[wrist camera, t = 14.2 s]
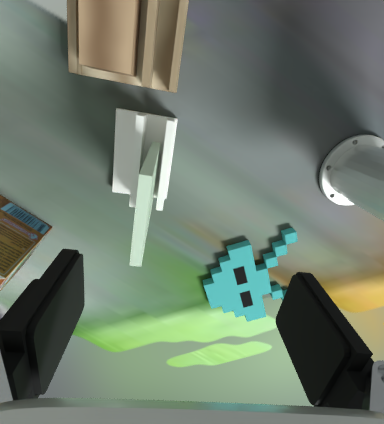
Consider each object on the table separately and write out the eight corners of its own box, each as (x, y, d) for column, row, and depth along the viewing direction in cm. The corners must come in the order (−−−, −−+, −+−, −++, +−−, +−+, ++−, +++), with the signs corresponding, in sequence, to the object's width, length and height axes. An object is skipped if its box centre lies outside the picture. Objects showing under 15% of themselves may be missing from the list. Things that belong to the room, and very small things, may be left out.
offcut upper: (141, -34, 28) (138, -46, 26) (133, 75, 32) (130, 74, 30) (85, -48, 27) (77, -62, 25) (85, 66, 32) (79, 64, 29)
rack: (190, -18, 32) (193, -39, 27) (175, 93, 37) (176, 92, 32) (76, -47, 30) (57, -75, 25) (77, 74, 35) (62, 70, 30)
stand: (177, 118, 39) (178, 122, 33) (166, 195, 44) (165, 211, 38) (118, 107, 38) (108, 110, 32) (114, 188, 43) (105, 203, 37)
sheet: (160, 142, 39) (152, 176, 22) (152, 201, 43) (141, 266, 26) (152, 141, 39) (139, 174, 22) (145, 200, 42) (129, 265, 26)
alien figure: (291, 226, 49) (193, 253, 50) (296, 231, 47) (194, 260, 48) (300, 298, 58) (217, 321, 59) (305, 306, 56) (218, 329, 57)
